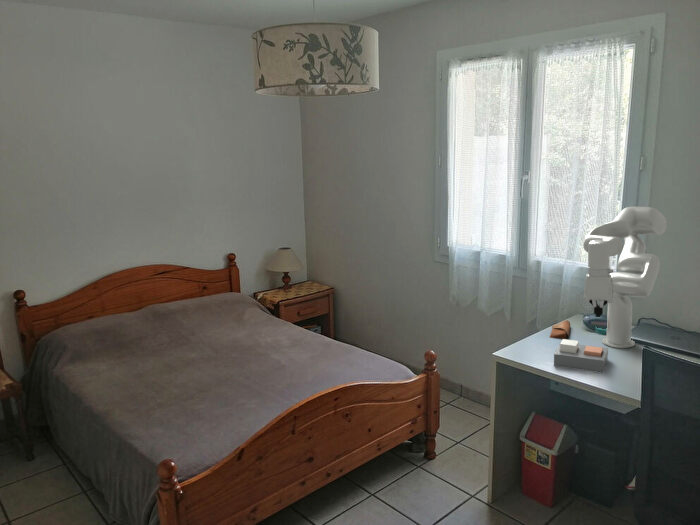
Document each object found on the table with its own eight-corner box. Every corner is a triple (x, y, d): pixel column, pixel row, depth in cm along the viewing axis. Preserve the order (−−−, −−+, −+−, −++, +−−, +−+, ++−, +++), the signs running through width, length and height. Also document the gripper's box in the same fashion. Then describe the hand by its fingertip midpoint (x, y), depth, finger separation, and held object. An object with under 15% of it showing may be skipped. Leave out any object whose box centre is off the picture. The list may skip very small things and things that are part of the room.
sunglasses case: (551, 325, 261) (559, 314, 258) (564, 333, 259) (572, 322, 257) (548, 337, 245) (557, 326, 242) (562, 346, 243) (571, 335, 240)
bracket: (596, 322, 262) (596, 306, 260) (611, 323, 259) (612, 307, 257) (595, 334, 246) (595, 317, 245) (611, 335, 243) (612, 319, 242)
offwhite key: (562, 347, 221) (562, 339, 221) (578, 349, 218) (578, 340, 218) (559, 352, 216) (560, 343, 216) (575, 354, 213) (576, 345, 213)
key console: (560, 353, 226) (560, 342, 225) (607, 359, 217) (608, 348, 216) (553, 365, 215) (554, 353, 214) (603, 372, 205) (603, 360, 204)
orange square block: (586, 353, 217) (586, 345, 216) (602, 356, 214) (602, 347, 213) (583, 359, 212) (584, 350, 211) (600, 361, 209) (600, 352, 208)
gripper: (620, 269, 209) (620, 314, 214) (579, 268, 217) (579, 311, 221) (619, 275, 203) (618, 320, 207) (576, 273, 211) (576, 317, 215)
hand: (598, 315), depth 214 cm, fingers closed
